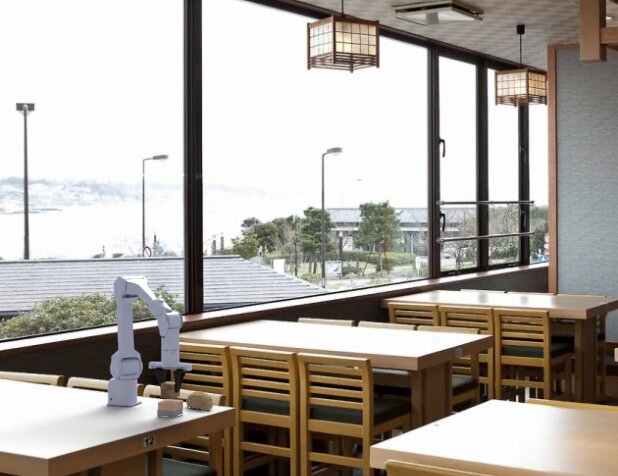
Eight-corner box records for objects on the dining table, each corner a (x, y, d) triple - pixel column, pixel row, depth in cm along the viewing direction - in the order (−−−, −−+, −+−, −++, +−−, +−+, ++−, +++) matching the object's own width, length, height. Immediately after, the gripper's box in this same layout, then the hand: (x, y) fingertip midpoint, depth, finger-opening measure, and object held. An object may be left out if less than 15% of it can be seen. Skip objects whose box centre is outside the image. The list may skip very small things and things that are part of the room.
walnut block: (160, 397, 304) (160, 383, 304) (167, 395, 309) (167, 381, 309) (173, 398, 303) (173, 384, 303) (179, 396, 307) (179, 382, 307)
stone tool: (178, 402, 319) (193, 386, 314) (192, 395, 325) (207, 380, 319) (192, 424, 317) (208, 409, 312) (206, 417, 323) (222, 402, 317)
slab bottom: (157, 417, 304) (157, 410, 304) (166, 414, 310) (166, 406, 310) (174, 419, 302) (174, 411, 302) (182, 415, 308) (182, 408, 308)
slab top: (157, 410, 304) (157, 402, 304) (166, 406, 310) (166, 399, 310) (174, 411, 302) (174, 403, 302) (183, 407, 308) (183, 400, 308)
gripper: (144, 350, 304) (144, 392, 305) (185, 352, 300) (185, 395, 300) (154, 347, 311) (154, 388, 311) (194, 349, 306) (194, 391, 306)
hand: (170, 391), depth 306 cm, fingers closed on walnut block, 4 cm apart
